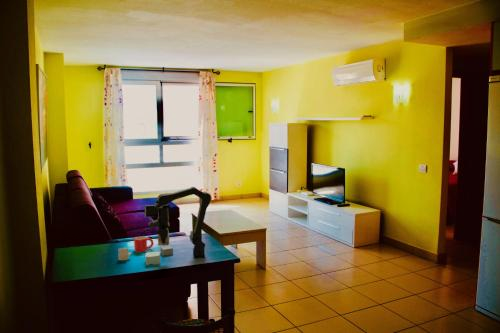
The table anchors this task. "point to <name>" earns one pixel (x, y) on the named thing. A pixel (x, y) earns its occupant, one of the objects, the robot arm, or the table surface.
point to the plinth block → (152, 258)
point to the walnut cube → (161, 240)
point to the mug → (142, 243)
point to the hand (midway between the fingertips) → (163, 242)
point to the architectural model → (123, 254)
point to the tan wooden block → (166, 250)
